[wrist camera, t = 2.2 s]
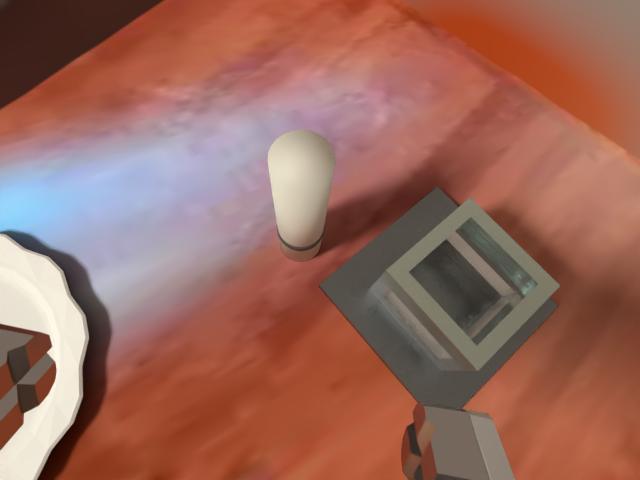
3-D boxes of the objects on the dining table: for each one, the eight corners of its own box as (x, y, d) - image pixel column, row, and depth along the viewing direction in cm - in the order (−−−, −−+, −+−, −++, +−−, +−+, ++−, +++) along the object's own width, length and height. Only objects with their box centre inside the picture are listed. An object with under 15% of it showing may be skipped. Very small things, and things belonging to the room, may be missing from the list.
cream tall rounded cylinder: (329, 244, 38) (350, 163, 23) (297, 270, 37) (297, 204, 22) (303, 214, 39) (306, 117, 24) (271, 239, 38) (252, 154, 23)
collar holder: (553, 307, 38) (620, 291, 30) (438, 427, 34) (481, 445, 26) (435, 189, 41) (467, 146, 33) (318, 286, 37) (324, 264, 29)
